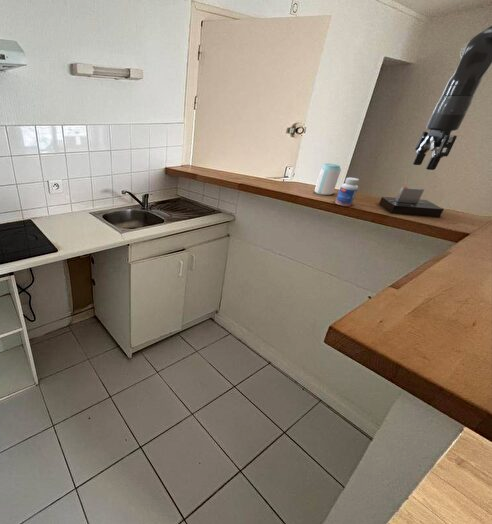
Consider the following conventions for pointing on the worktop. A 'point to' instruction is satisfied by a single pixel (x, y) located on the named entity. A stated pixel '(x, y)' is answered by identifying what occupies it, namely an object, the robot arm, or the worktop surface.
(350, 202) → the pill bottle
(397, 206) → the base
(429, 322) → the worktop surface
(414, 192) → the tap handle
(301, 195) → the worktop surface
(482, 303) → the worktop surface
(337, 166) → the can
